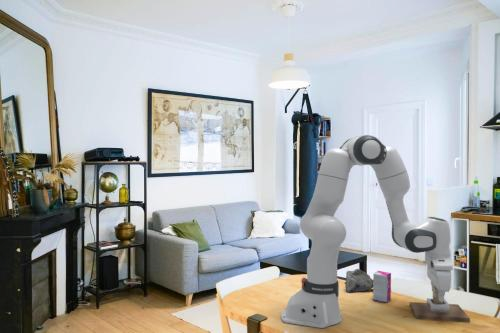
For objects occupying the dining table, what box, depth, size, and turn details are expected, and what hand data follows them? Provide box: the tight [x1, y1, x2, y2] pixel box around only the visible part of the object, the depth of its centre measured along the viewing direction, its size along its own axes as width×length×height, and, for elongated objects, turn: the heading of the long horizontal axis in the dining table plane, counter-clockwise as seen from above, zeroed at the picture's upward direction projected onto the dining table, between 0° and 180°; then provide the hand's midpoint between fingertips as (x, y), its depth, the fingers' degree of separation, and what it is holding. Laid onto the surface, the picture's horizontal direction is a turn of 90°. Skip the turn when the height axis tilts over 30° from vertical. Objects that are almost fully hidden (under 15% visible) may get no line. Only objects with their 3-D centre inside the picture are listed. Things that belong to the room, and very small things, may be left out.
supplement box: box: [372, 270, 392, 304], centre depth 171 cm, size 6×6×12 cm
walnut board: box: [409, 301, 471, 323], centre depth 156 cm, size 18×14×2 cm
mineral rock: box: [344, 268, 373, 293], centre depth 184 cm, size 13×11×10 cm
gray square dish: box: [426, 297, 450, 313], centre depth 156 cm, size 7×7×3 cm
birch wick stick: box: [432, 284, 443, 304], centre depth 156 cm, size 3×3×10 cm
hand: (437, 296), depth 156 cm, fingers open, 8 cm apart
